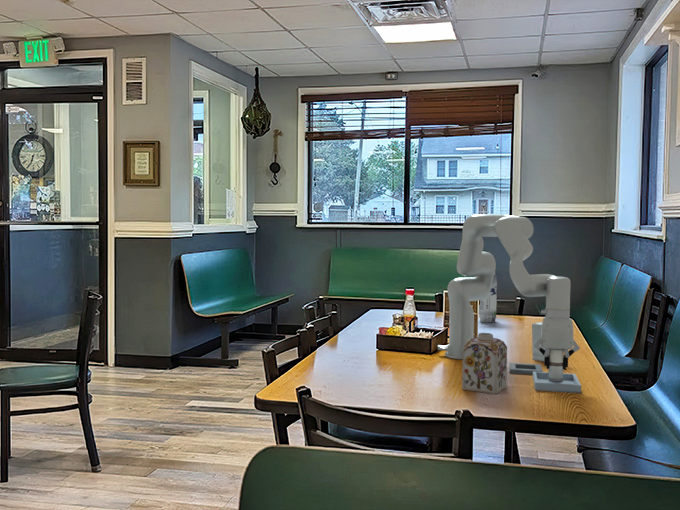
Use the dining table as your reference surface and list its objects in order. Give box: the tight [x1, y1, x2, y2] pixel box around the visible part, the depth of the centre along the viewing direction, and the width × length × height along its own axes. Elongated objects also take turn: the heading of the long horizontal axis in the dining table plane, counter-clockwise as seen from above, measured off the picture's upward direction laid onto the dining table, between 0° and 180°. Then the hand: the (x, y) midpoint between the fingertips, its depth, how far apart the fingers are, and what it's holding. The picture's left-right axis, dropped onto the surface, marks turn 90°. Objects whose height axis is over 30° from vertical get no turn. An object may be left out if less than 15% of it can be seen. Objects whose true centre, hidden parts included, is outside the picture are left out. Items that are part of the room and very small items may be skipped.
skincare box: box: [531, 321, 549, 363], centre depth 257 cm, size 8×6×15 cm
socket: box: [509, 362, 544, 376], centre depth 240 cm, size 11×14×2 cm
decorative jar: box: [461, 332, 508, 395], centre depth 215 cm, size 12×12×18 cm
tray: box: [532, 371, 582, 394], centre depth 220 cm, size 14×16×2 cm
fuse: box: [548, 349, 565, 383], centre depth 220 cm, size 5×5×12 cm
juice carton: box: [478, 272, 498, 323], centre depth 354 cm, size 9×10×27 cm
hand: (555, 368), depth 220 cm, fingers closed on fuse, 4 cm apart
